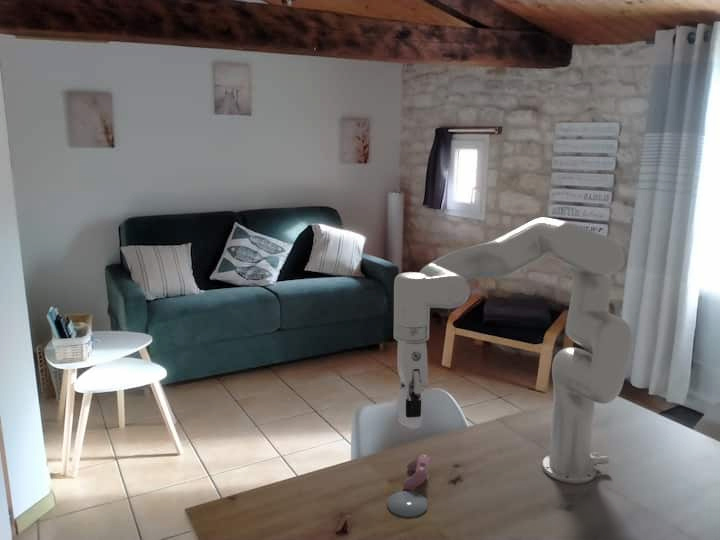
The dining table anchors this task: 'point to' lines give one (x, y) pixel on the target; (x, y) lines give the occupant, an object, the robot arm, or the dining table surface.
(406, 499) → the glossy grey pebble
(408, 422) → the eye dropper bottle
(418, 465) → the video game controller
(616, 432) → the dining table surface
